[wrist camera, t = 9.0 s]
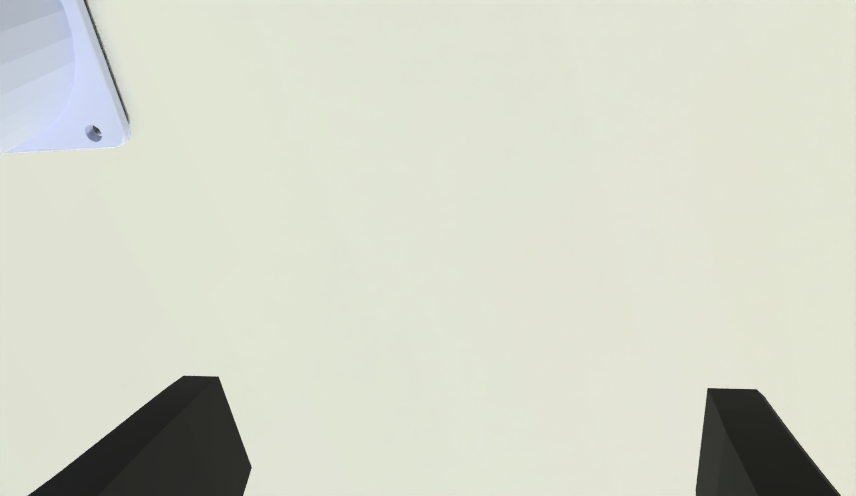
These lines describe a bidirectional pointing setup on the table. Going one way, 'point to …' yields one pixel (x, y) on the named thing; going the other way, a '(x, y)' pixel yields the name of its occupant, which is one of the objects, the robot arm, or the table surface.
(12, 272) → the table surface
